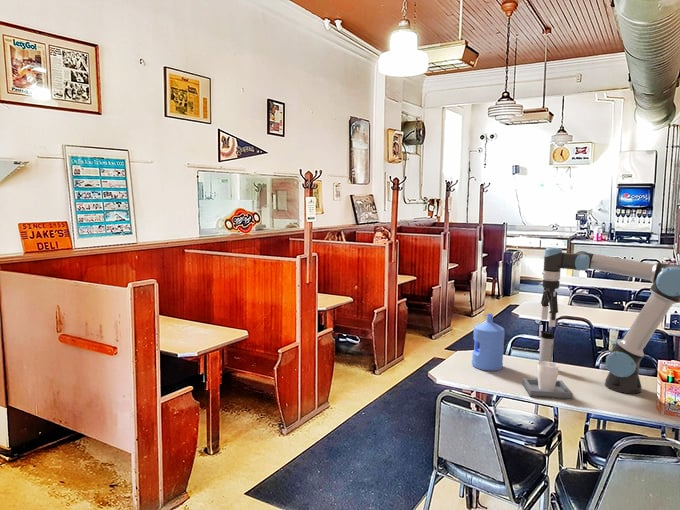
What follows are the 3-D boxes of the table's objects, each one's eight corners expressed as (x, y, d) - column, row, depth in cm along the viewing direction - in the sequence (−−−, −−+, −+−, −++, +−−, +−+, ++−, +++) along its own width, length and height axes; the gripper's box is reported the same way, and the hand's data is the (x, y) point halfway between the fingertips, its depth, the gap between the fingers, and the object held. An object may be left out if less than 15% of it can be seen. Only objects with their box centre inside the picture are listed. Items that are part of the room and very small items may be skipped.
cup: (553, 386, 237) (555, 361, 235) (559, 393, 228) (561, 368, 226) (533, 385, 237) (535, 360, 236) (539, 392, 229) (540, 367, 227)
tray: (561, 386, 239) (561, 380, 239) (572, 399, 224) (572, 393, 223) (522, 383, 242) (522, 377, 241) (530, 396, 226) (530, 390, 226)
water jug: (505, 365, 269) (509, 313, 265) (497, 373, 255) (501, 319, 252) (476, 359, 277) (479, 309, 274) (467, 367, 264) (470, 315, 260)
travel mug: (536, 366, 268) (538, 329, 266) (548, 366, 268) (551, 329, 266) (540, 370, 262) (543, 332, 260) (553, 370, 262) (556, 333, 260)
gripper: (536, 275, 255) (533, 316, 257) (550, 283, 230) (547, 329, 233) (551, 276, 254) (548, 317, 256) (567, 284, 229) (564, 329, 232)
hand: (548, 322), depth 245 cm, fingers open, 13 cm apart
